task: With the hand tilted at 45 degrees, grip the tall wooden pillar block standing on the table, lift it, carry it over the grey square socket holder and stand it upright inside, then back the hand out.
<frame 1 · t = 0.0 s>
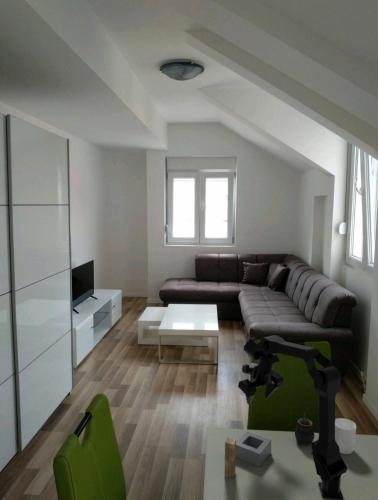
hand: (257, 400, 154), 15 cm above the table, tool pointing down, fingers open, 9 cm apart
mate gourd: (303, 441, 154), on the table
tall wooden pillar block: (229, 474, 135), on the table
grey square socket holder: (252, 454, 146), on the table
white cup: (343, 449, 149), on the table
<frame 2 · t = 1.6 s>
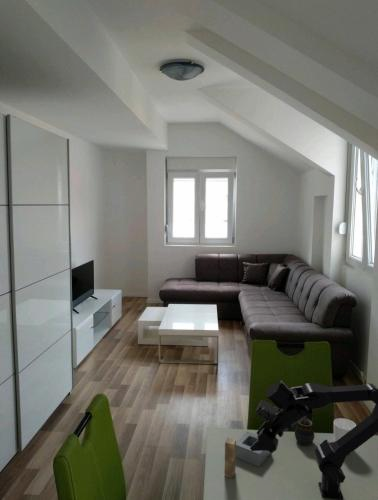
hand: (254, 441, 131), 13 cm above the table, tool tilted 45°, fingers open, 9 cm apart
nothing on the table moved.
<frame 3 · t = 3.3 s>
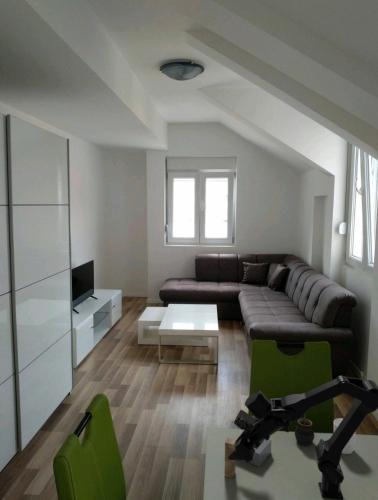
hand: (232, 450, 133), 9 cm above the table, tool tilted 45°, fingers open, 9 cm apart
nothing on the table moved.
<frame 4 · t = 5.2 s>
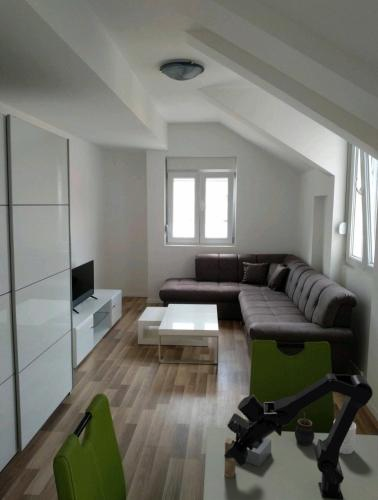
hand: (226, 453, 134), 7 cm above the table, tool tilted 45°, fingers closed on tall wooden pillar block, 3 cm apart
tall wooden pillar block: (229, 474, 135), on the table, touching gripper
everything else where it was.
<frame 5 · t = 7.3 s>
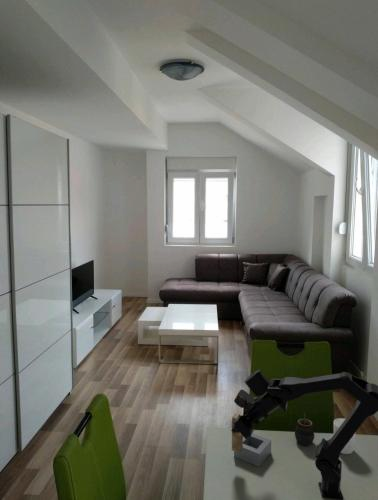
hand: (233, 428, 138), 13 cm above the table, tool tilted 45°, fingers closed on tall wooden pillar block, 3 cm apart
tall wooden pillar block: (237, 449, 138), point 6 cm above the table, touching gripper
everything else where it was.
when the fingers open (9 cm above the table, at t = 9.7 s): tall wooden pillar block drops 1 cm, resting on grey square socket holder.
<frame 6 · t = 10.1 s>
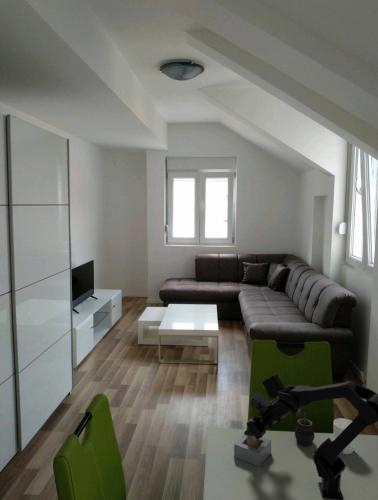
hand: (249, 429, 145), 9 cm above the table, tool tilted 45°, fingers open, 7 cm apart
tall wooden pillar block: (252, 452, 145), point 1 cm above the table, touching grey square socket holder
everything else where it was.
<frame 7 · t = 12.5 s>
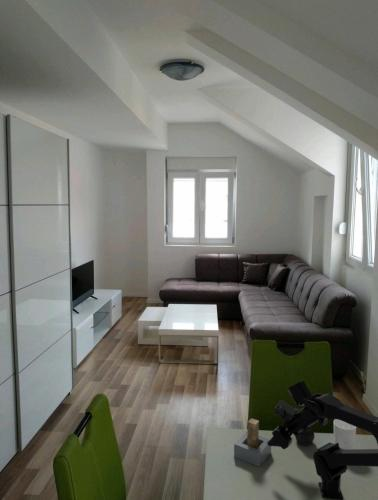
hand: (273, 437, 140), 9 cm above the table, tool tilted 45°, fingers open, 9 cm apart
nothing on the table moved.
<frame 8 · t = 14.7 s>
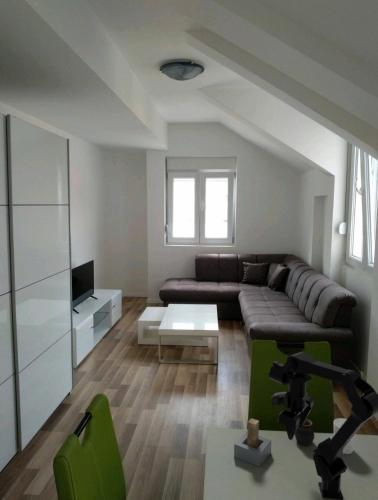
hand: (295, 433, 136), 13 cm above the table, tool pointing down, fingers open, 9 cm apart
nothing on the table moved.
at the end: tall wooden pillar block 0.0 cm off-centre on the grey square socket holder, point 0.8 cm above the grey square socket holder's base; tall wooden pillar block tilted 0°; the gripper is holding nothing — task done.
